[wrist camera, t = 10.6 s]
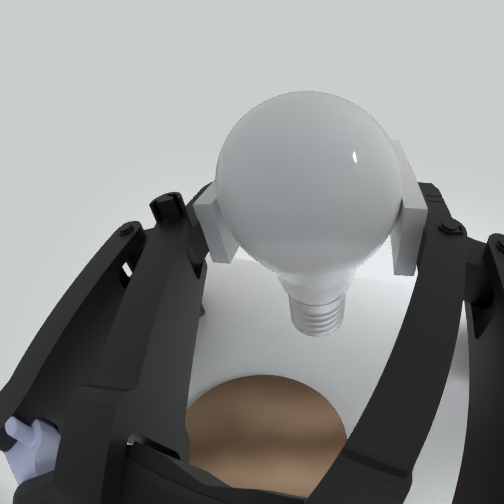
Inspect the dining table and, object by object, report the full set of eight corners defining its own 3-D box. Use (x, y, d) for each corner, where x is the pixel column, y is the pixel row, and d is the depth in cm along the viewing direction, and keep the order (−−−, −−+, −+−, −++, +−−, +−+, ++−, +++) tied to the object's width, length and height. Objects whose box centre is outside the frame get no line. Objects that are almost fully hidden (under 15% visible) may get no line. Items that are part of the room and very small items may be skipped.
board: (366, 502, 13) (368, 502, 13) (184, 531, 13) (179, 532, 12) (319, 361, 25) (319, 357, 24) (173, 393, 25) (169, 390, 24)
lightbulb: (300, 266, 18) (274, 83, 11) (394, 302, 14) (418, 88, 7) (233, 338, 14) (152, 125, 8) (339, 399, 11) (364, 122, 4)
